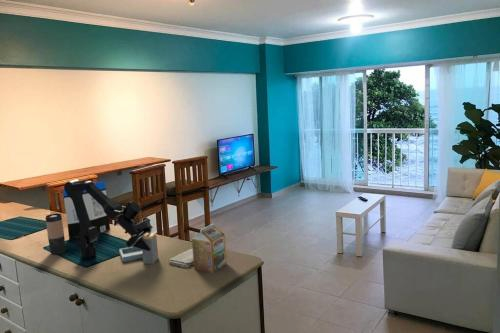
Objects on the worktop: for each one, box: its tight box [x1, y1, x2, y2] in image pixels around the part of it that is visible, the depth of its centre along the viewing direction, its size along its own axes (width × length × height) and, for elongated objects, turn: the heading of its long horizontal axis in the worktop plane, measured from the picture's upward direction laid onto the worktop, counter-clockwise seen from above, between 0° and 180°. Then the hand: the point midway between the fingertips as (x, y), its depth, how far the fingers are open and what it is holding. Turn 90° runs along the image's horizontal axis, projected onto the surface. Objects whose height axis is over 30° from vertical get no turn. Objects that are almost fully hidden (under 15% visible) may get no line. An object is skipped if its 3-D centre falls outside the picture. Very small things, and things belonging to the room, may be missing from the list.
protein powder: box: [62, 180, 111, 241], centre depth 241 cm, size 10×24×30 cm, turn 132°
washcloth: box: [168, 248, 194, 269], centre depth 197 cm, size 12×18×3 cm, turn 150°
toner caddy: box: [142, 231, 159, 264], centre depth 197 cm, size 5×6×14 cm
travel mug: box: [45, 213, 67, 256], centre depth 214 cm, size 8×8×20 cm
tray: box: [118, 246, 143, 263], centre depth 206 cm, size 13×13×3 cm
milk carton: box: [191, 223, 228, 274], centre depth 186 cm, size 11×11×19 cm
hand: (152, 247), depth 197 cm, fingers closed on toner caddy, 6 cm apart
